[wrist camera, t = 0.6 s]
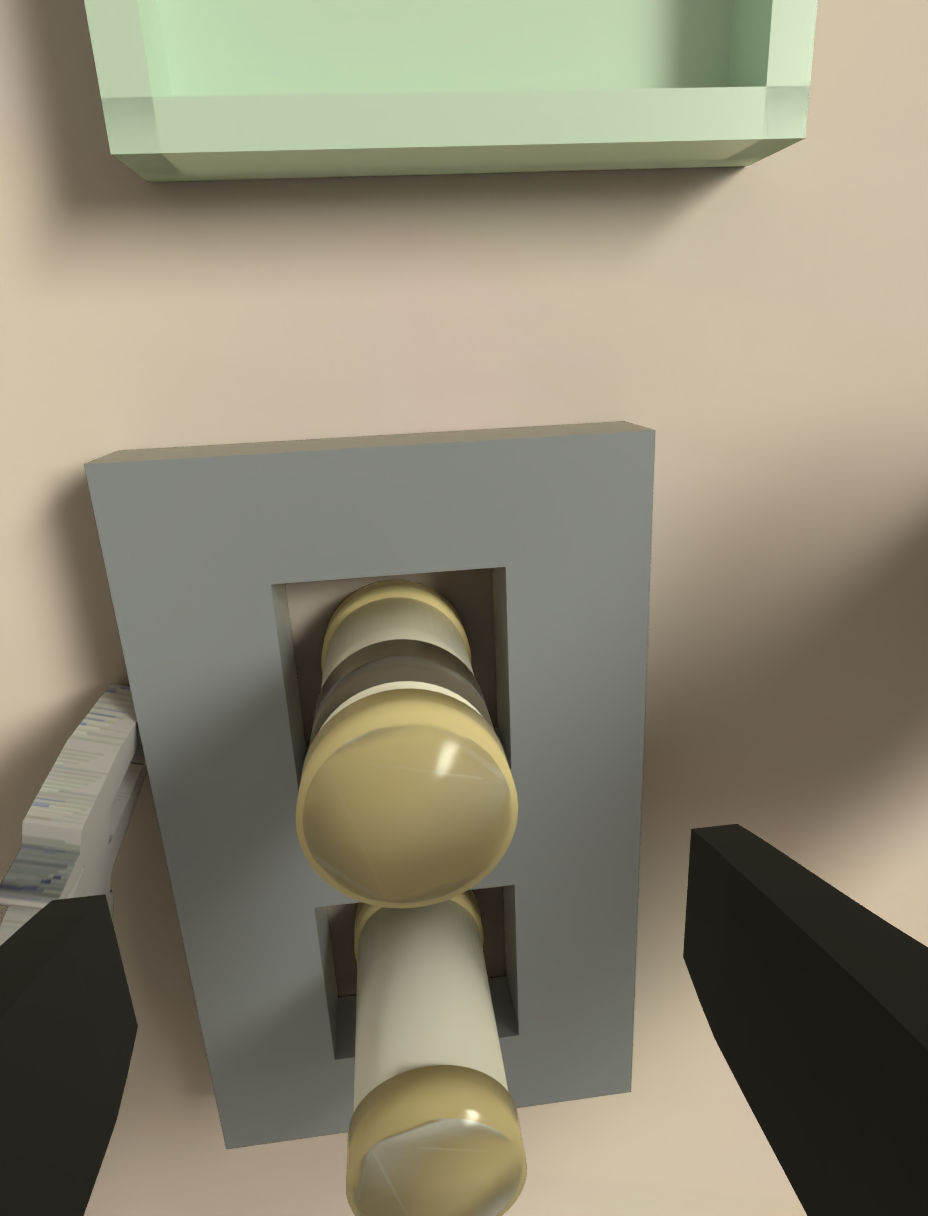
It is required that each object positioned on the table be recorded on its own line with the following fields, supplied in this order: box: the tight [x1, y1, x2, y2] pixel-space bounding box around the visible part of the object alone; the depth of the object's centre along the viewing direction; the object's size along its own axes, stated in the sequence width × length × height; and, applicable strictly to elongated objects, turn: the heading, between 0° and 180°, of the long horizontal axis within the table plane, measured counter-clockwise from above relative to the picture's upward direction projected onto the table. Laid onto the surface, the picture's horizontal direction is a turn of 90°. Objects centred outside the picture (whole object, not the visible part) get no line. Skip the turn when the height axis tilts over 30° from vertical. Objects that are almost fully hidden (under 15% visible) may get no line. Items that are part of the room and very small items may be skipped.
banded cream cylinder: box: [296, 580, 518, 908], centre depth 15 cm, size 3×3×7 cm
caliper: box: [0, 683, 147, 946], centre depth 18 cm, size 20×1×6 cm, turn 166°
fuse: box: [346, 890, 527, 1216], centre depth 18 cm, size 3×3×7 cm
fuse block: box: [84, 421, 655, 1149], centre depth 19 cm, size 11×18×2 cm, turn 3°
